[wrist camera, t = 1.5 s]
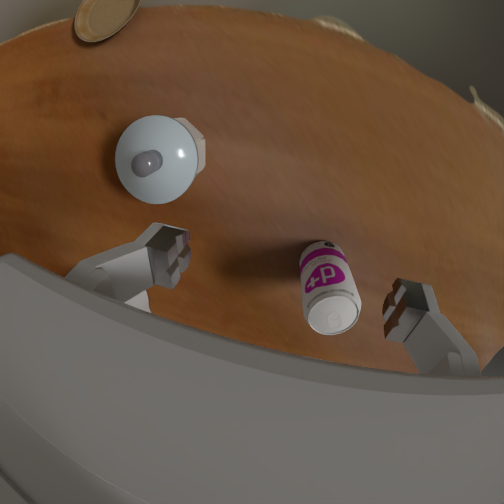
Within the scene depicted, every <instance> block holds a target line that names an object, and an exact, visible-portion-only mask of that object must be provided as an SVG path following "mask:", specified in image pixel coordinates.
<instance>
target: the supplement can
mask: <svg viewBox="0 0 504 504" xmlns="http://www.w3.org/2000/svg"><path fill="white" fill-rule="evenodd" d="M299 265H300V277H301V289H302V302H303V316H304V317H305V319H306V321H307V323H308V324H309V325H310V326H311V328H312V329H314V330H315V331H316V332H318V333H321V334H324V335H335V334H339V333H342V332H344V331H346V330H348V329H350V328H351V327H352V326H353V325H354V324H355V323H356V321H357V319H358V317H359V313H360V310H361V300H360V297H359V294H358V291H357V288H356V286H355V283H354V280H353V277H352V274H351V272H350V269H349V266H348V264H347V261H346V258H345V256H344V253H343V251H342V249H341V248H340V247H339V246H338V245H336V244H334V243H332V242H327V241H320V242H316V243H313V244H311V245H310V246H308V247H307V248H306V249H305V250H304V251H303V252H302V254H301V257H300V260H299Z"/></svg>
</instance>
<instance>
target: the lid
mask: <svg viewBox="0 0 504 504" xmlns="http://www.w3.org/2000/svg"><path fill="white" fill-rule="evenodd" d="M198 161H199V157H198V149H197V145H196V143H195V140H194V138H193V136H192V134H191V133H190V132H189V130H188V129H187V128H186V127H185V126H184V125H183V124H182V123H180V122H179V121H177V120H175V119H173V118H171V117H167V116H162V115H153V116H147V117H143V118H141V119H139V120H137V121H135V122H133V123H132V124H131V125H130V126H129V127H127V129H126V130H125V131H124V132H123V134H122V135H121V137H120V139H119V141H118V144H117V148H116V154H115V164H116V170H117V174H118V176H119V179H120V181H121V183H122V184H123V186H124V187H125V188H126V190H127V191H128V192H129V193H130V194H132V195H133V196H134V197H136V198H137V199H139V200H141V201H144V202H146V203H151V204H163V203H167V202H170V201H172V200H174V199H176V198H178V197H179V196H181V195H182V194H183V193H184V192H185V191H186V190H187V189H188V188H189V187H190V185H191V184H192V182H193V180H194V178H195V176H196V173H197V169H198Z"/></svg>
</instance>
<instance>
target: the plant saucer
mask: <svg viewBox="0 0 504 504" xmlns="http://www.w3.org/2000/svg"><path fill="white" fill-rule="evenodd" d="M140 3H141V0H83V2H82V3H81V5H80V6H79V9H78V11H77V13H76V17H75V31H76V34H77V35H78V37H79V38H80V39H82V40H83V41H86V42H97V41H101V40H104V39H106V38H108V37H110V36H112V35H113V34H115V33H116V32H118V31H119V30H120V29H122V28H123V27H124V26H125V25H126V24H127V23H128V22H129V21H130V20H131V18H132V17H133V16H134V14H135V13H136V11H137V9H138V7H139V5H140Z"/></svg>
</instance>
